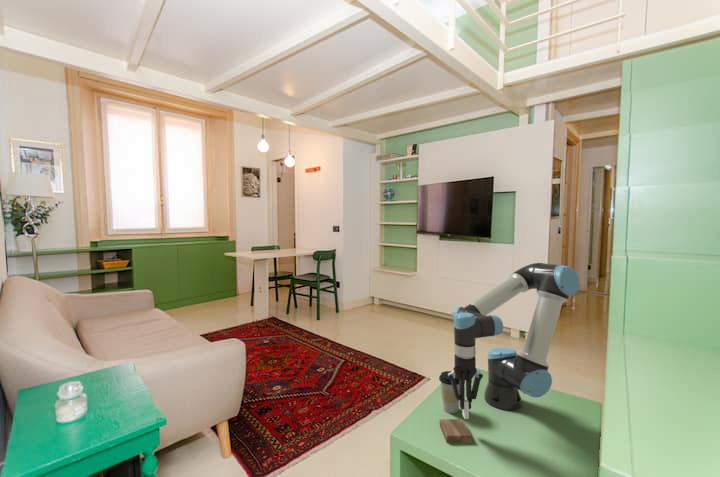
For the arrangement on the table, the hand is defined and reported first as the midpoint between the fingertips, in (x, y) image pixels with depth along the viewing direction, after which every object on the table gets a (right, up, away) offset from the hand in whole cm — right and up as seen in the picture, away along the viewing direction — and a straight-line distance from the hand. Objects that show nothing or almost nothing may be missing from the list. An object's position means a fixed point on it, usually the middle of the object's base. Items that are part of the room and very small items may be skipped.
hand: (465, 416), depth 120 cm
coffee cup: (-1, -6, +16) cm, 17 cm away
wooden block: (0, -5, 0) cm, 5 cm away
